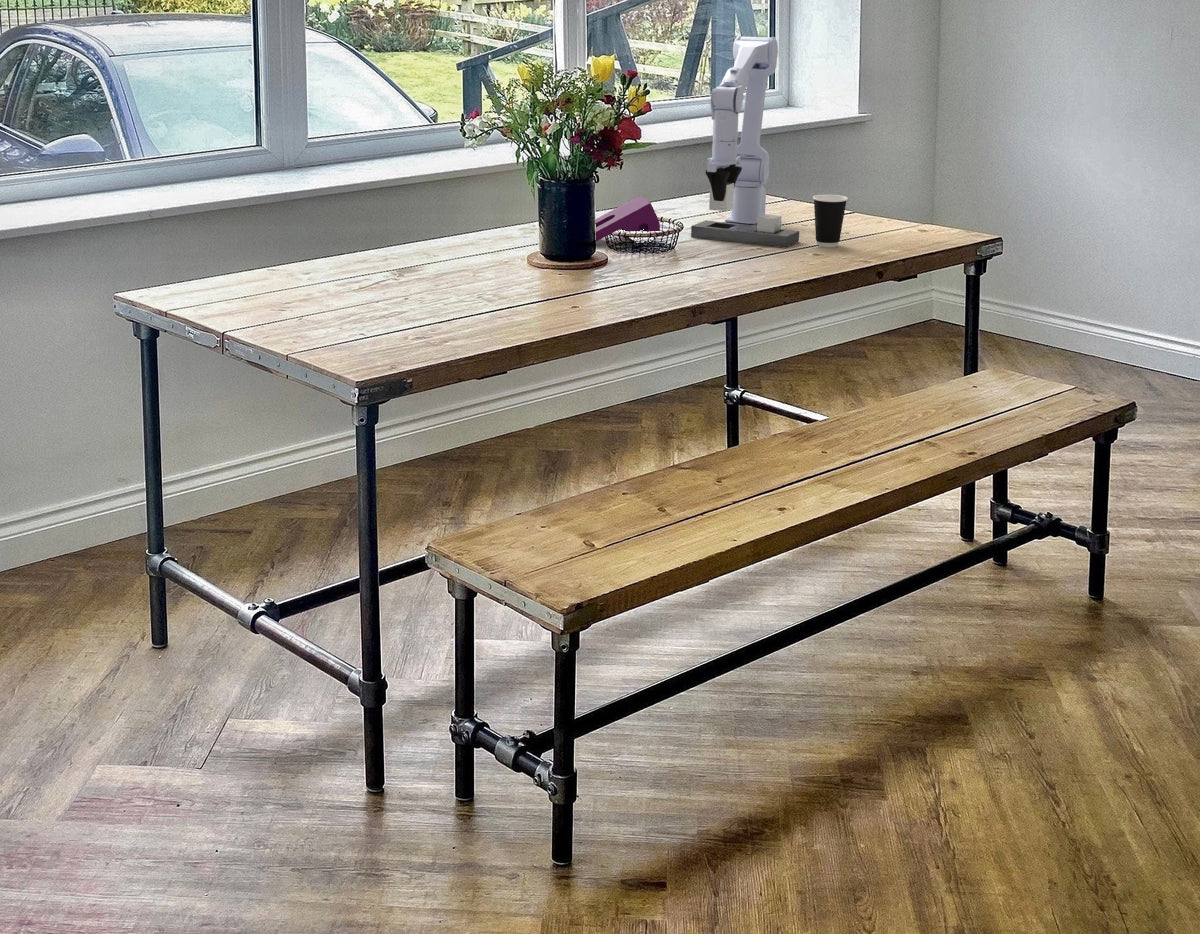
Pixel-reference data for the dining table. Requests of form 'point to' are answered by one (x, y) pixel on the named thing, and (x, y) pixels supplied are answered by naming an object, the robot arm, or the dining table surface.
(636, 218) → the mounting bracket
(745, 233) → the rail
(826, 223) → the dixie cup
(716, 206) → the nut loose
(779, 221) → the off-white rectangular block
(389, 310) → the dining table surface
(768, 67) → the robot arm
